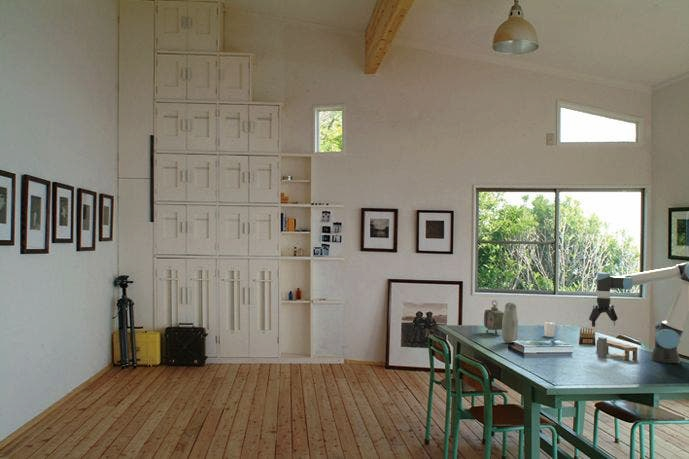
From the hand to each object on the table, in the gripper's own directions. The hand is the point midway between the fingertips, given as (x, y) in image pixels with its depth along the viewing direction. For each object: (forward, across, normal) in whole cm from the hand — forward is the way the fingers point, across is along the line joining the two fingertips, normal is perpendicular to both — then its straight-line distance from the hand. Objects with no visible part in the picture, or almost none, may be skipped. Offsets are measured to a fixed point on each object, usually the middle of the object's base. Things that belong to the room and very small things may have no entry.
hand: (603, 331), depth 322 cm
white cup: (+15, -13, -64) cm, 68 cm away
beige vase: (+15, +35, -46) cm, 60 cm away
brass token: (+16, -18, 0) cm, 25 cm away
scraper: (+16, -7, -1) cm, 18 cm away
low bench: (+16, -11, 0) cm, 19 cm away
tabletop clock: (+15, +25, -80) cm, 85 cm away
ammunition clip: (+16, -20, -34) cm, 43 cm away
